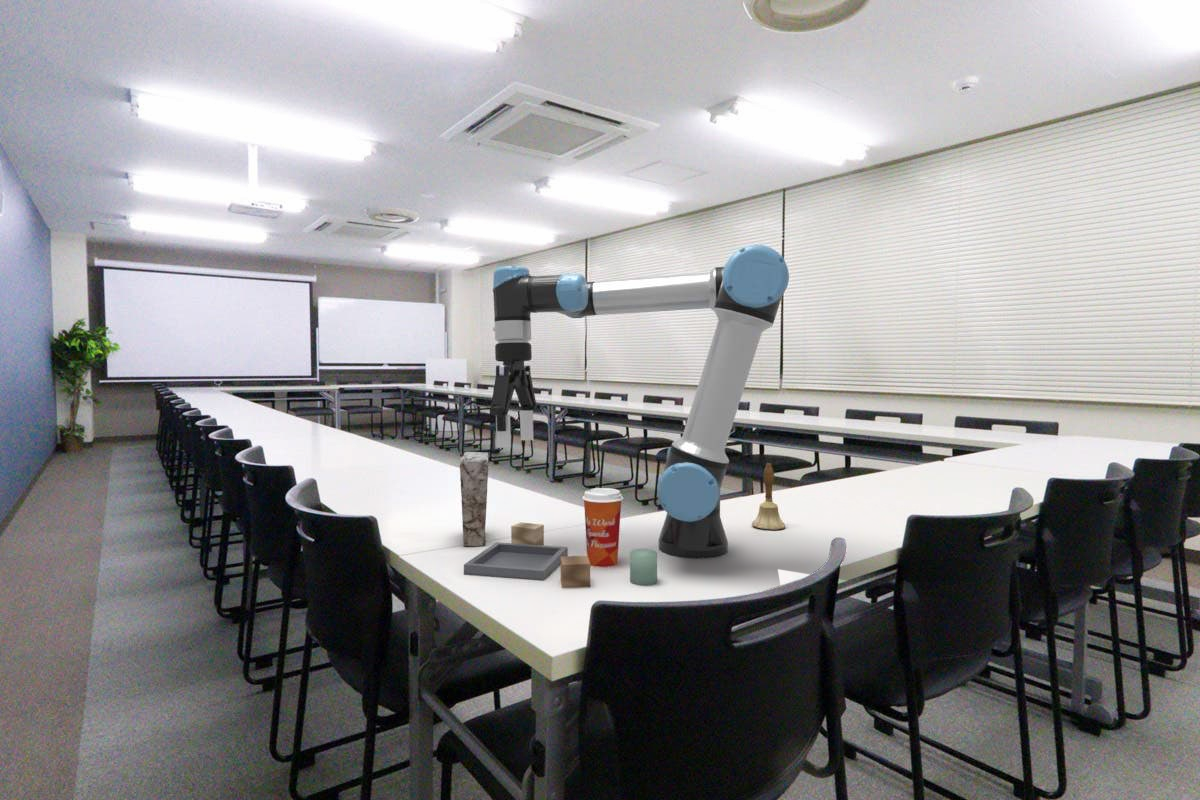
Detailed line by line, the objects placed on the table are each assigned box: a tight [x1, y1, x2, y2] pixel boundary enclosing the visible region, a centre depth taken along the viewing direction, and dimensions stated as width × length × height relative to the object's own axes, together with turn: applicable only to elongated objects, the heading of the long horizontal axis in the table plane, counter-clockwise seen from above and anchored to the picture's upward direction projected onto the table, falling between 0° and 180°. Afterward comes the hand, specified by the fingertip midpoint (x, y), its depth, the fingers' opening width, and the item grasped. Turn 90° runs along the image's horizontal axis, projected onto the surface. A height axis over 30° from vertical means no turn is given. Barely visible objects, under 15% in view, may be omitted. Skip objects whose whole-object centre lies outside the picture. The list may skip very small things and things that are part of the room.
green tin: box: [629, 548, 658, 587], centre depth 116 cm, size 5×5×6 cm
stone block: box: [459, 451, 489, 547], centre depth 146 cm, size 13×7×20 cm, turn 15°
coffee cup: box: [581, 487, 624, 568], centre depth 128 cm, size 8×8×15 cm
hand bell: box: [751, 462, 786, 531], centre depth 160 cm, size 8×8×16 cm
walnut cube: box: [560, 555, 591, 589], centre depth 115 cm, size 5×5×5 cm
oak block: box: [510, 522, 545, 546], centre depth 140 cm, size 6×4×5 cm, turn 67°
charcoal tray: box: [463, 541, 569, 582], centre depth 126 cm, size 16×16×2 cm
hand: (516, 443), depth 132 cm, fingers open, 13 cm apart
